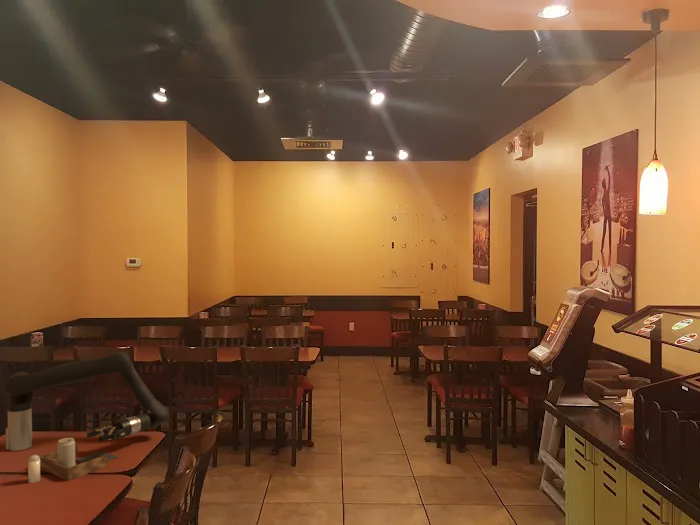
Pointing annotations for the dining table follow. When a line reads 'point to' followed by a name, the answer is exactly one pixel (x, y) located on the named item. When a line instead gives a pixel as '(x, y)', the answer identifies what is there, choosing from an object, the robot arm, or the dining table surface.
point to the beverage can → (66, 452)
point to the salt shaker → (34, 469)
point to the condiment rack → (69, 473)
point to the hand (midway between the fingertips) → (93, 437)
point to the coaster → (96, 456)
